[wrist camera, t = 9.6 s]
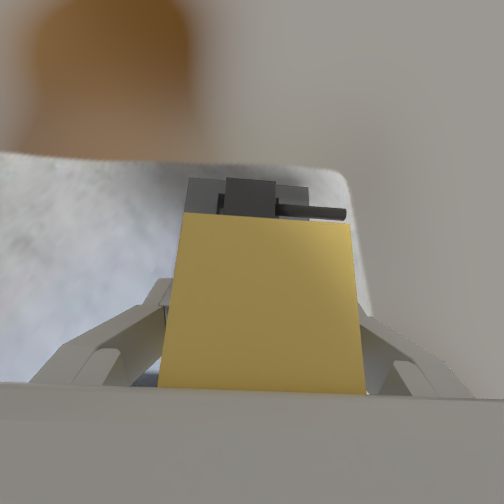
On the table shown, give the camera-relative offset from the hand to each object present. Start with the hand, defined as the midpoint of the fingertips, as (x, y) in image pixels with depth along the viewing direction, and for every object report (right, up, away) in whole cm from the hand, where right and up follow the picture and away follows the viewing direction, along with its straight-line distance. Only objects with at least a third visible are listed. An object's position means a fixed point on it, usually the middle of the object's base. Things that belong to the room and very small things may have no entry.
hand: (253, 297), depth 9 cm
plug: (0, -2, +4) cm, 5 cm away
